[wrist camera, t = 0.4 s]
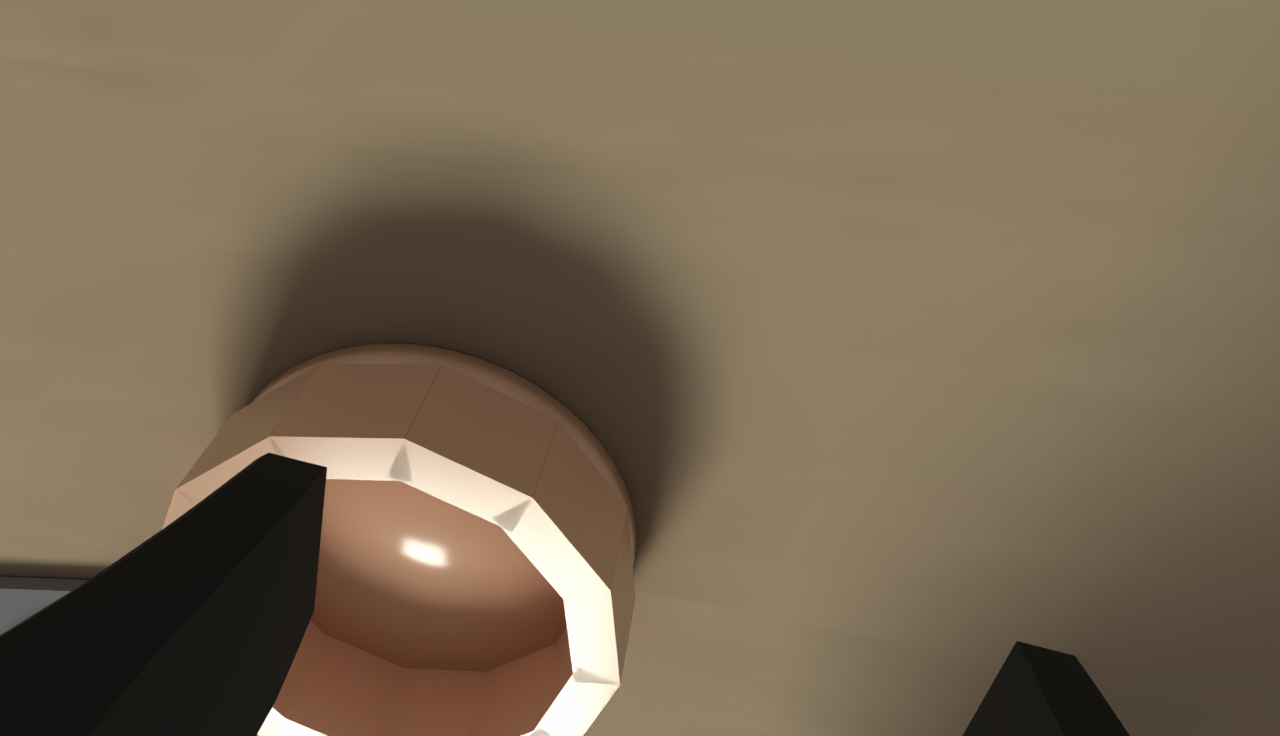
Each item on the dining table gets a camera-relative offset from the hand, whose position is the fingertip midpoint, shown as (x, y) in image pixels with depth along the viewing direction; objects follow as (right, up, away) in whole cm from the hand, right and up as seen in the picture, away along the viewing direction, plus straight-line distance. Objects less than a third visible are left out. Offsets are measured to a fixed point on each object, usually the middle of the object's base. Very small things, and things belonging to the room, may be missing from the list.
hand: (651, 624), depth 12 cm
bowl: (-5, -1, +13) cm, 14 cm away
